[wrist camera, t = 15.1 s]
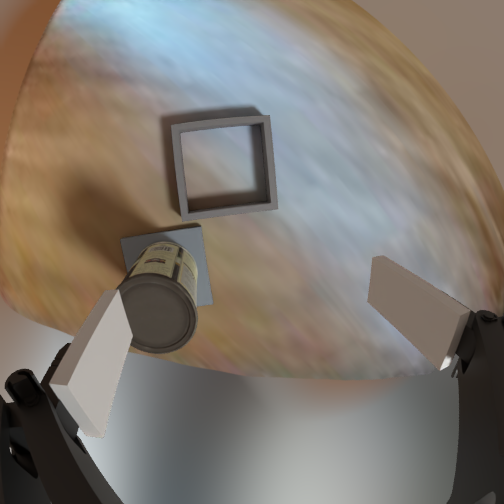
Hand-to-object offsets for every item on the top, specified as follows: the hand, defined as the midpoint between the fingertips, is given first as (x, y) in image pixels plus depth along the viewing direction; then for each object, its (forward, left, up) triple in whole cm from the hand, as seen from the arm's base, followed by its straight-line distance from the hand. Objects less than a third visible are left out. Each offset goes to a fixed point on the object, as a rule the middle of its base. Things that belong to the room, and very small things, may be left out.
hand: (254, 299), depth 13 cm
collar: (-7, +1, -29) cm, 30 cm away
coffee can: (+8, -10, -29) cm, 32 cm away
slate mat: (+8, -10, -29) cm, 32 cm away
